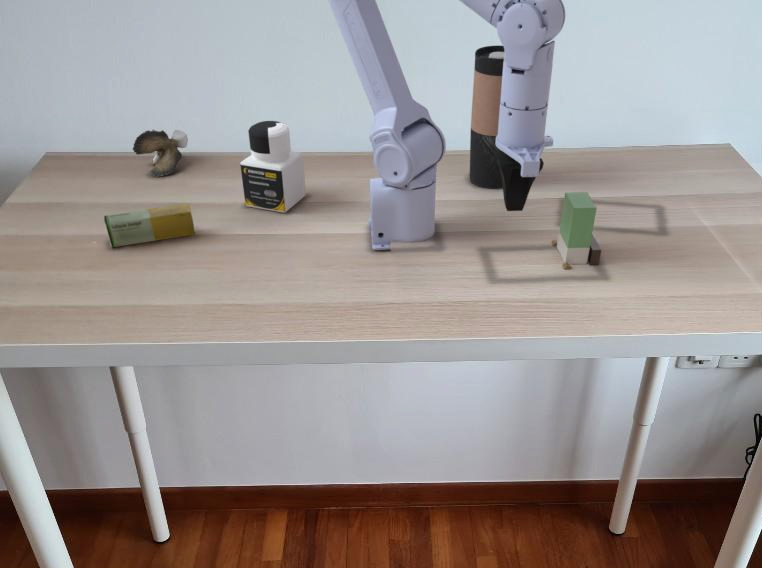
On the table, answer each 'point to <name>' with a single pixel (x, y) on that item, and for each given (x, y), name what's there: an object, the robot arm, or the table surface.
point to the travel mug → (486, 117)
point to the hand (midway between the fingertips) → (513, 208)
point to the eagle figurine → (161, 149)
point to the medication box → (149, 225)
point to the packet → (576, 227)
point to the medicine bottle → (272, 169)
